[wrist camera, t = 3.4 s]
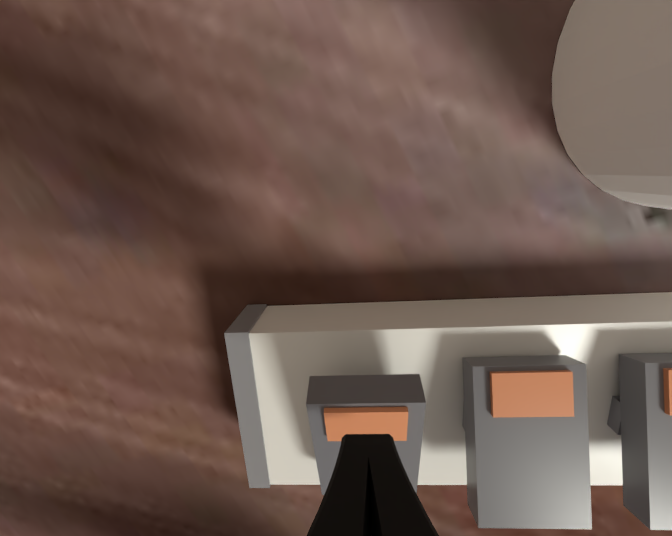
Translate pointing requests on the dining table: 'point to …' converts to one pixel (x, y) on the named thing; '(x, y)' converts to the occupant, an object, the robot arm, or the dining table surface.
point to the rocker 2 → (527, 442)
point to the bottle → (617, 96)
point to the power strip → (428, 367)
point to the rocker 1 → (366, 416)
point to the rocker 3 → (647, 436)
